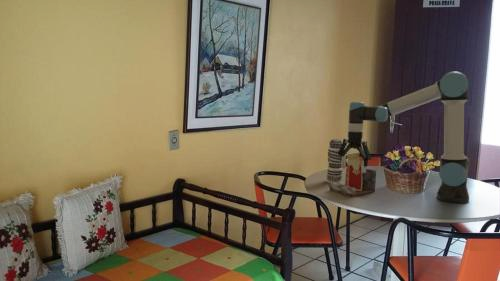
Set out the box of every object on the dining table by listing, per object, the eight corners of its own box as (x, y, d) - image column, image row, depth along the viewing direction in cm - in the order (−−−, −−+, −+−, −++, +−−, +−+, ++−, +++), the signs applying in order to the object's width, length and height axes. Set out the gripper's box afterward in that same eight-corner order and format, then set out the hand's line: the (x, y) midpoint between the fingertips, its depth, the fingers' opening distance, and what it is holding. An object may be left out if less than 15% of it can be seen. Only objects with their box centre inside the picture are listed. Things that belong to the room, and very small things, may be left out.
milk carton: (359, 186, 238) (361, 151, 235) (362, 191, 229) (364, 154, 226) (342, 186, 239) (344, 150, 236) (345, 190, 230) (347, 153, 227)
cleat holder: (374, 191, 234) (376, 170, 232) (352, 197, 222) (354, 174, 220) (351, 185, 246) (352, 165, 244) (328, 190, 234) (330, 168, 233)
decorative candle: (342, 184, 250) (344, 141, 246) (325, 182, 252) (328, 140, 248) (342, 180, 259) (344, 139, 255) (326, 179, 260) (328, 138, 257)
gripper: (379, 133, 222) (377, 173, 225) (341, 128, 241) (339, 165, 244) (370, 134, 218) (368, 175, 220) (332, 129, 237) (330, 167, 240)
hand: (353, 170), depth 232 cm, fingers open, 13 cm apart
